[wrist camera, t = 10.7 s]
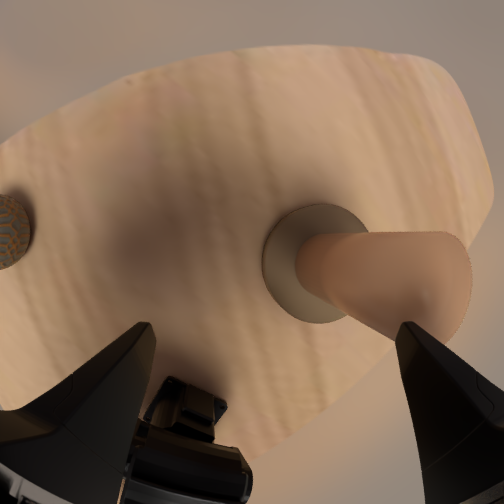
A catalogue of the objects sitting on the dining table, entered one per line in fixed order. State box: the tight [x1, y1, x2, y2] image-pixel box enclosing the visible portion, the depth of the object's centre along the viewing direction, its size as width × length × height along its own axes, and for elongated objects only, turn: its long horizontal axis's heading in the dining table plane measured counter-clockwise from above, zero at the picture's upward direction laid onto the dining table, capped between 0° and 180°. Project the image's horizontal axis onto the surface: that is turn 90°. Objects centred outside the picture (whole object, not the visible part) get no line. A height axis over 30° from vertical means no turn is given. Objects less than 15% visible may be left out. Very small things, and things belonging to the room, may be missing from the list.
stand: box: [262, 204, 368, 324], centre depth 23 cm, size 10×10×2 cm
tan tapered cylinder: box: [295, 232, 472, 344], centre depth 16 cm, size 5×5×13 cm
